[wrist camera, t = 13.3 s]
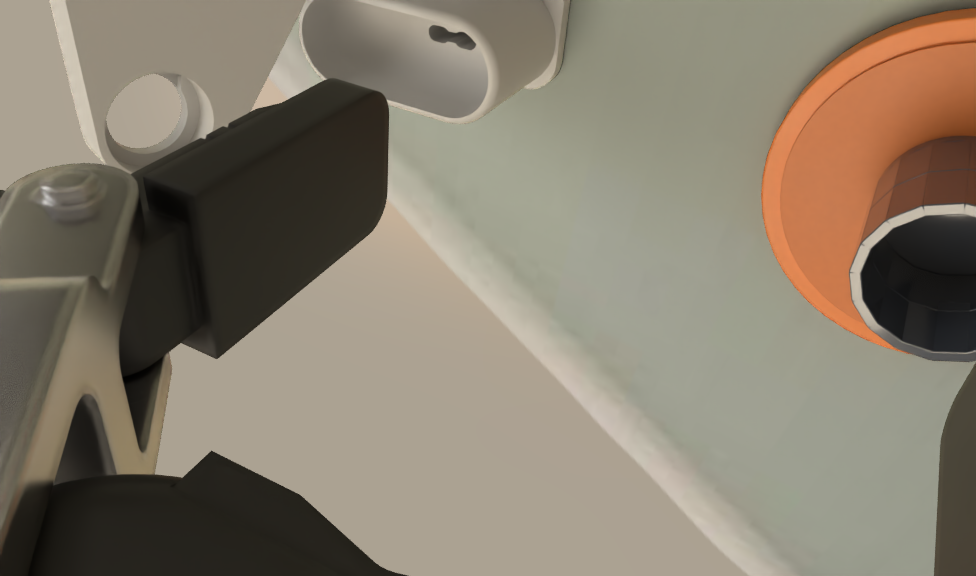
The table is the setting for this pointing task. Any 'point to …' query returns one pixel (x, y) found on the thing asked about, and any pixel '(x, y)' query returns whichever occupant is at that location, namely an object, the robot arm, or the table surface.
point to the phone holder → (327, 46)
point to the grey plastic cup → (921, 252)
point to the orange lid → (861, 147)
